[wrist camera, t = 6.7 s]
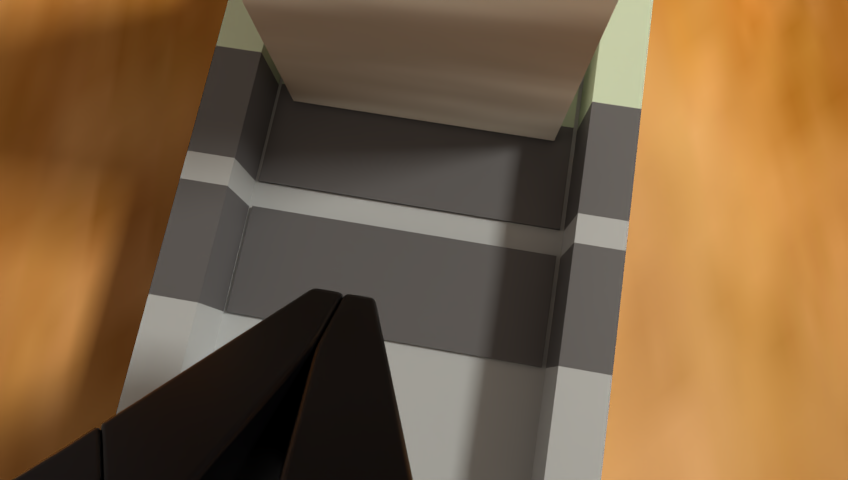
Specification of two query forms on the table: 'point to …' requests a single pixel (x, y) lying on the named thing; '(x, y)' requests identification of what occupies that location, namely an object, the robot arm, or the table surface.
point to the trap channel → (416, 252)
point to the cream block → (437, 57)
